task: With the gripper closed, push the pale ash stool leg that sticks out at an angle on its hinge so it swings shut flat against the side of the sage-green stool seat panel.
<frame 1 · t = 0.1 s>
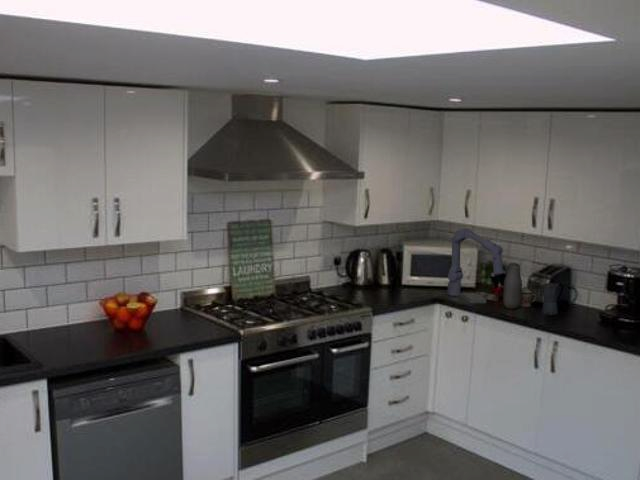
hand: (499, 286, 416), 11 cm above the worktop, tool pointing down, fingers open, 7 cm apart
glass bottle: (511, 308, 404), on the worktop
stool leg: (487, 296, 429), point 2 cm above the worktop, hinge at 30.0°
teacup with lid: (526, 305, 414), on the worktop
moka pot: (550, 313, 395), on the worktop
seat panel: (473, 299, 425), on the worktop
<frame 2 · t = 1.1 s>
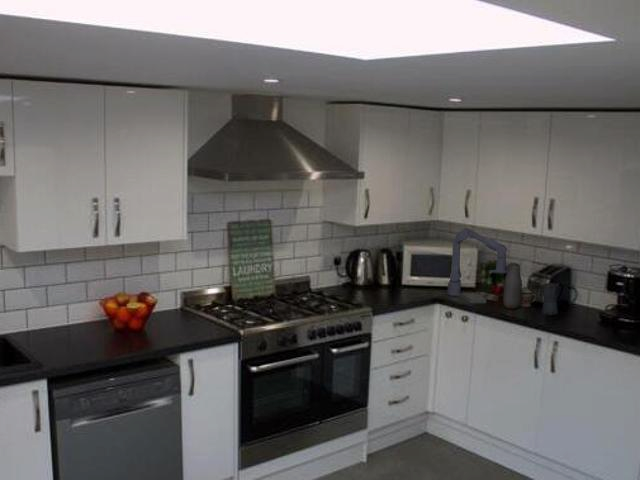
hand: (499, 284, 428), 9 cm above the worktop, tool pointing down, fingers open, 6 cm apart
nothing on the worktop moved.
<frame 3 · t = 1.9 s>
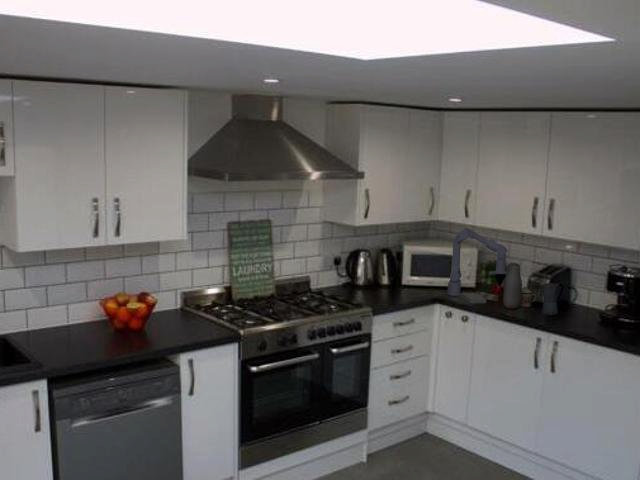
hand: (499, 285, 428), 9 cm above the worktop, tool pointing down, fingers closed
nothing on the worktop moved.
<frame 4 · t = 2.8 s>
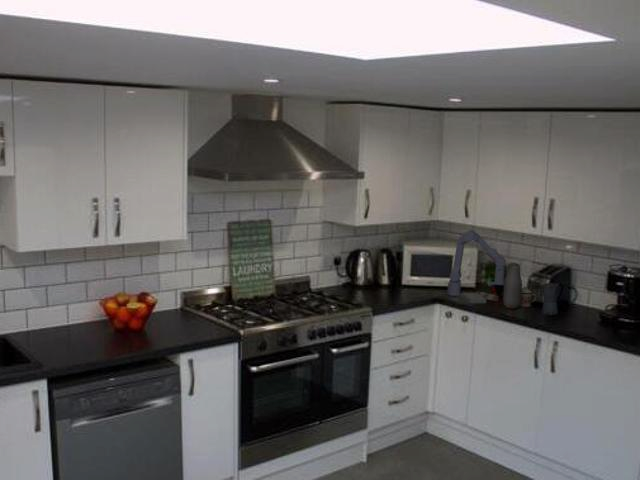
hand: (498, 296, 429), 2 cm above the worktop, tool pointing down, fingers closed
nothing on the worktop moved.
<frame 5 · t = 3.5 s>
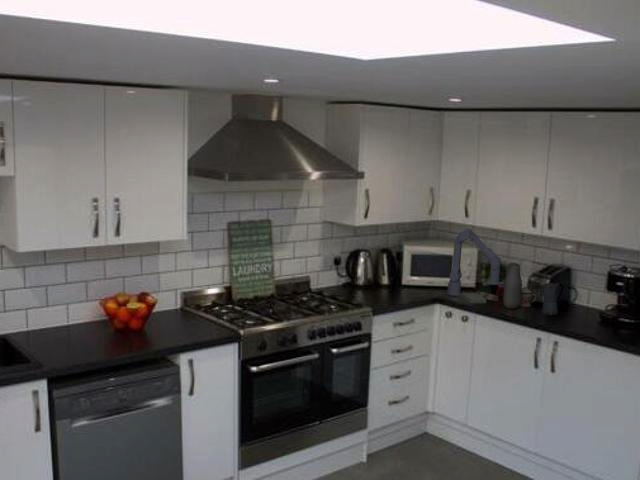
hand: (493, 296, 428), 2 cm above the worktop, tool pointing down, fingers closed, pressing on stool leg
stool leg: (487, 296, 429), point 2 cm above the worktop, hinge at 29.9°, touching gripper
everything else where it was.
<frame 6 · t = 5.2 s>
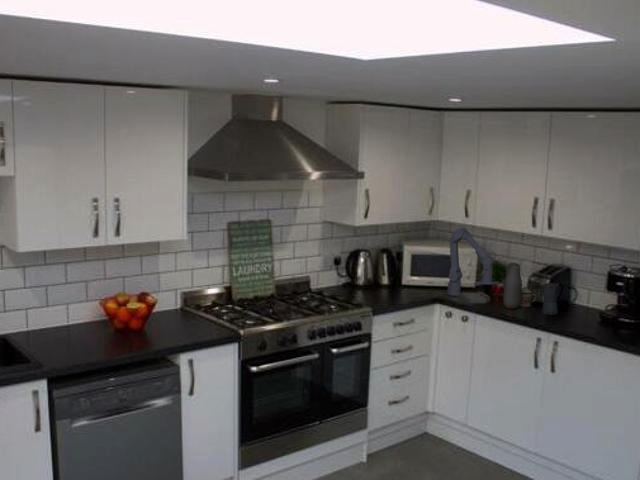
hand: (486, 296, 427), 2 cm above the worktop, tool pointing down, fingers closed
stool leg: (483, 296, 428), point 2 cm above the worktop, hinge at 1.3°, touching gripper
everything else where it was.
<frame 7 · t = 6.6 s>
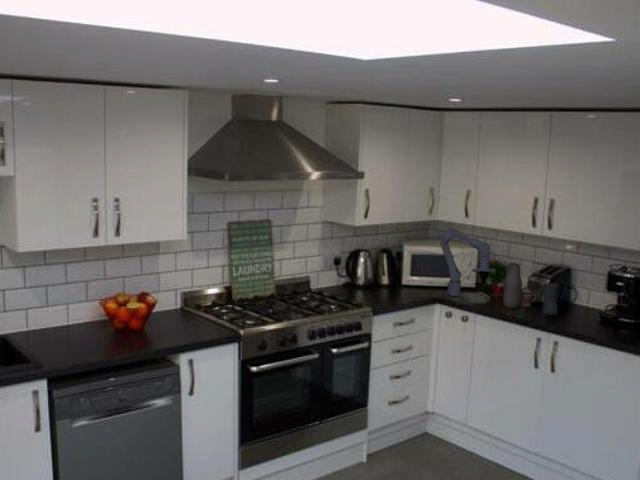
hand: (483, 283, 431), 9 cm above the worktop, tool pointing down, fingers closed
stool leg: (483, 296, 428), point 2 cm above the worktop, hinge at 1.2°
everything else where it was.
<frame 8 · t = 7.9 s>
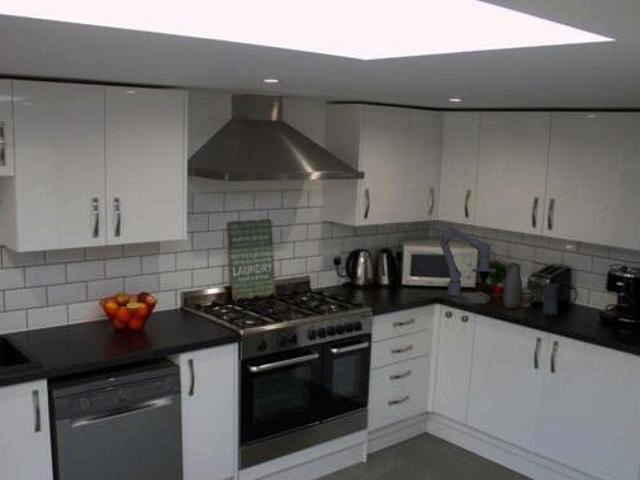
hand: (483, 283, 431), 9 cm above the worktop, tool pointing down, fingers closed
nothing on the worktop moved.
at the end: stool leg at +1° (first picture: +30°); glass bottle moved 0.2 cm from its start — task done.
